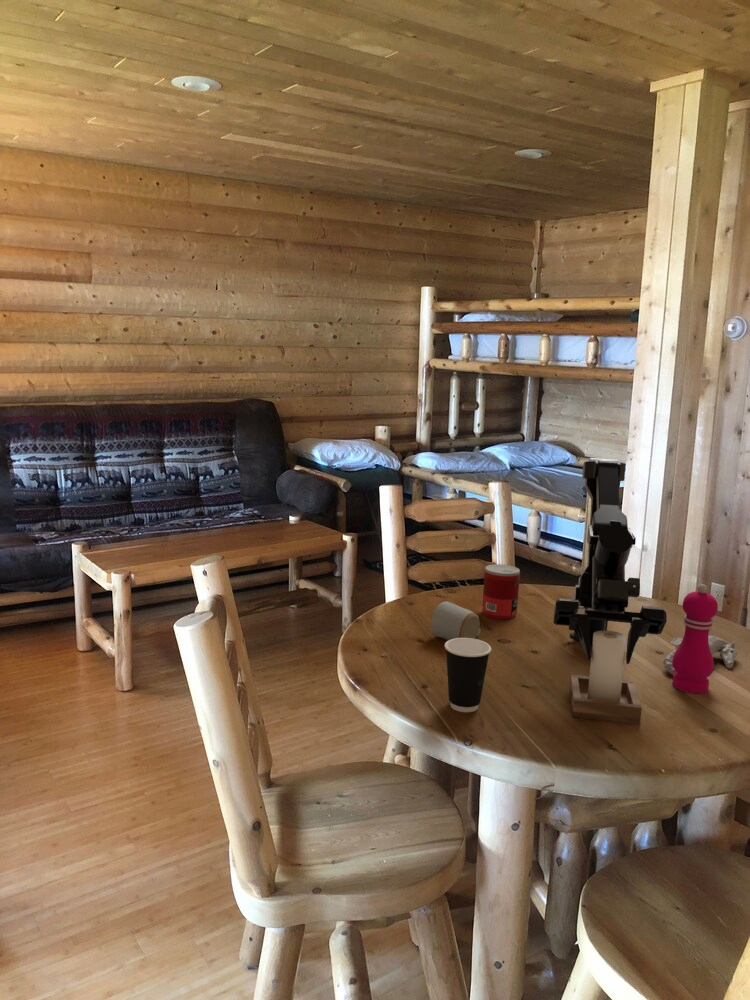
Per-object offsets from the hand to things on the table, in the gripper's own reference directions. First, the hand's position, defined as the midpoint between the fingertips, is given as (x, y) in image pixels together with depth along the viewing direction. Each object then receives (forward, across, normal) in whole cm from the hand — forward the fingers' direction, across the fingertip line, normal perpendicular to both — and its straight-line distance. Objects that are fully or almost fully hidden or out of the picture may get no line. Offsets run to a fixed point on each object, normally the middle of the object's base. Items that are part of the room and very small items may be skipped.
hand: (608, 661), depth 137 cm
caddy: (+5, 0, +7) cm, 9 cm away
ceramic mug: (-12, -28, +26) cm, 40 cm away
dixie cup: (+10, -24, +3) cm, 26 cm away
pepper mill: (-4, +17, +17) cm, 24 cm away
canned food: (-25, -20, +39) cm, 50 cm away
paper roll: (+5, 0, +7) cm, 8 cm away
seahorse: (-12, +21, +25) cm, 34 cm away
